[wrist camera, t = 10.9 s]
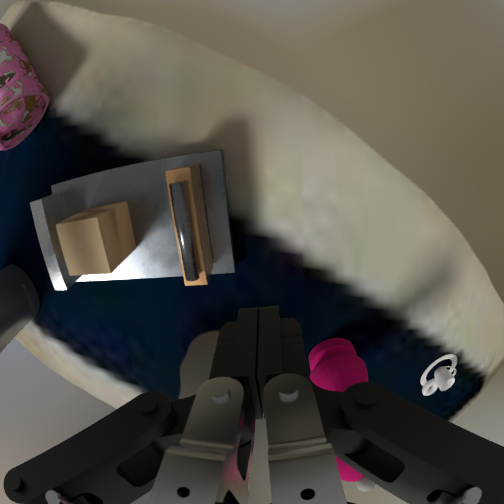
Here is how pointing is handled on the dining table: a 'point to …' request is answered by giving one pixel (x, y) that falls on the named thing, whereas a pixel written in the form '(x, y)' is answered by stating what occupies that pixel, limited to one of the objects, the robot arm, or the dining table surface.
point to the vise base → (138, 217)
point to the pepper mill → (339, 385)
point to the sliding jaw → (190, 223)
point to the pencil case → (18, 93)
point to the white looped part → (439, 376)
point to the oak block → (97, 239)
